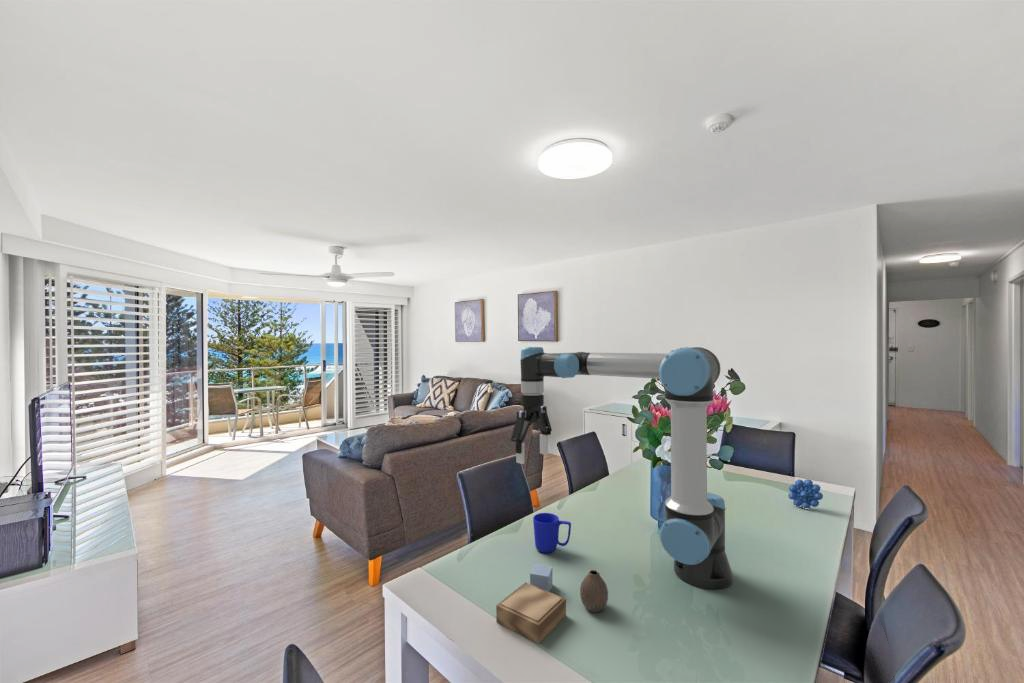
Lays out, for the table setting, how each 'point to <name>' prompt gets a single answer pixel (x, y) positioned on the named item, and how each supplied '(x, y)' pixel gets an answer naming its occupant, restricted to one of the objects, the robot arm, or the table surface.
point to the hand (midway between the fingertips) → (532, 458)
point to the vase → (594, 592)
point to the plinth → (531, 611)
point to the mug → (548, 532)
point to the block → (541, 577)
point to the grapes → (805, 493)
